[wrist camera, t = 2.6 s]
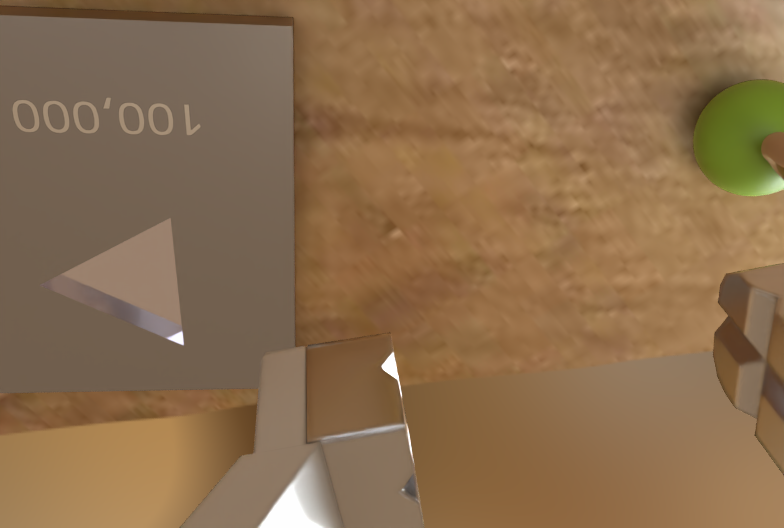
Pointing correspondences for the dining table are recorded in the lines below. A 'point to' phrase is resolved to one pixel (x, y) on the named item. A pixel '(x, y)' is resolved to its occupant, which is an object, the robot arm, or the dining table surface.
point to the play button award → (144, 199)
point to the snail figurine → (743, 138)
